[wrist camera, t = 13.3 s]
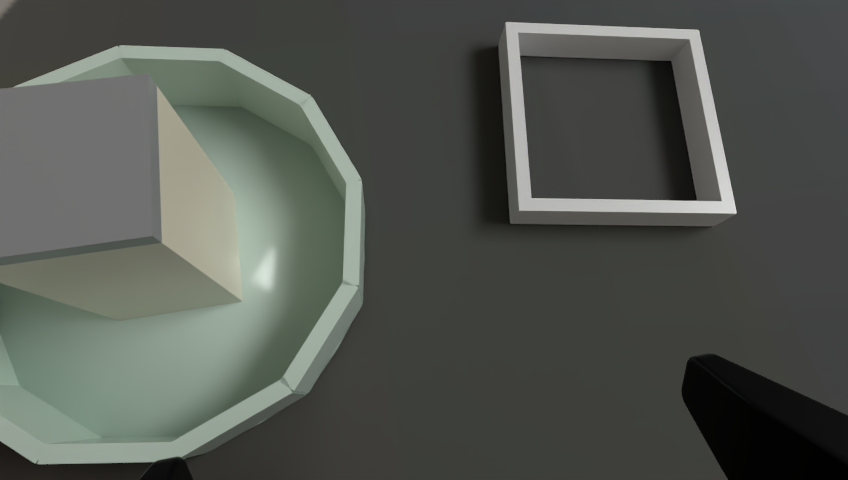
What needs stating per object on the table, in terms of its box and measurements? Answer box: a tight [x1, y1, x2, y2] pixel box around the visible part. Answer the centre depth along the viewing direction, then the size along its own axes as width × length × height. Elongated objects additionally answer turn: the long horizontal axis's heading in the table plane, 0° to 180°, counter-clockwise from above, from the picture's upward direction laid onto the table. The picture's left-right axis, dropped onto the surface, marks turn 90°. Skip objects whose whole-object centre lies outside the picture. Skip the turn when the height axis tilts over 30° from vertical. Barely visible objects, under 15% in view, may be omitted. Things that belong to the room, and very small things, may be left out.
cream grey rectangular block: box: [0, 74, 243, 321], centre depth 18 cm, size 5×5×9 cm
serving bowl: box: [0, 45, 365, 464], centre depth 21 cm, size 16×16×4 cm
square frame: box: [498, 22, 737, 226], centre depth 26 cm, size 10×10×2 cm
